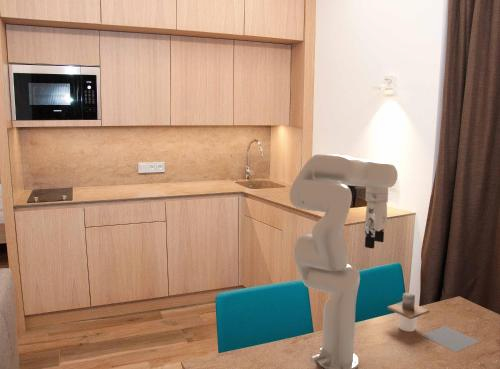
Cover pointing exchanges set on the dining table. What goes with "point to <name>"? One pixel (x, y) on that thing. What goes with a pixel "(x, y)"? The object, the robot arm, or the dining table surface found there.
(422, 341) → the dining table surface
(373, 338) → the dining table surface
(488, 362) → the dining table surface
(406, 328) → the pale pink cup
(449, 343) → the mat
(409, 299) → the lid
